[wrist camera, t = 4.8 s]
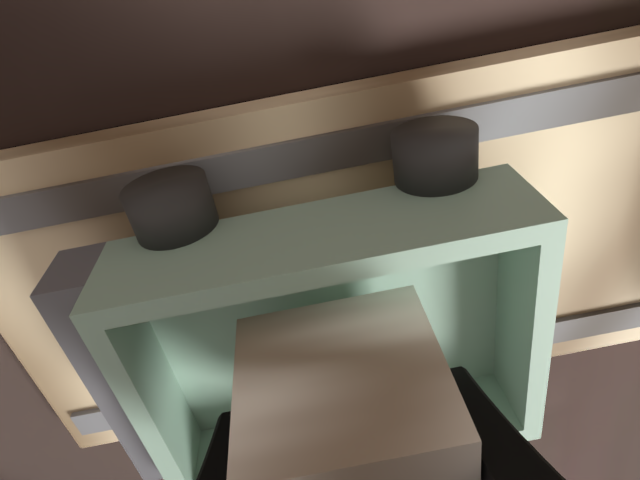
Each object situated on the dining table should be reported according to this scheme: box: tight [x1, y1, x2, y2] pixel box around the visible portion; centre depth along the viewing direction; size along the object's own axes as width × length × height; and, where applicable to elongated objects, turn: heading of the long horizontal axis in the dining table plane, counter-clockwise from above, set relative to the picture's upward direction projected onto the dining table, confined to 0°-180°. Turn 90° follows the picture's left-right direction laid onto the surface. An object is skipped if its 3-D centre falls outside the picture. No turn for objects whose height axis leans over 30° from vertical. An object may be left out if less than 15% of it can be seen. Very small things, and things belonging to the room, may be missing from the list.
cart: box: [29, 115, 568, 480], centre depth 13 cm, size 11×9×4 cm
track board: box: [0, 25, 640, 448], centre depth 14 cm, size 24×11×4 cm, turn 99°
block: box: [226, 285, 482, 480], centre depth 10 cm, size 4×4×4 cm
